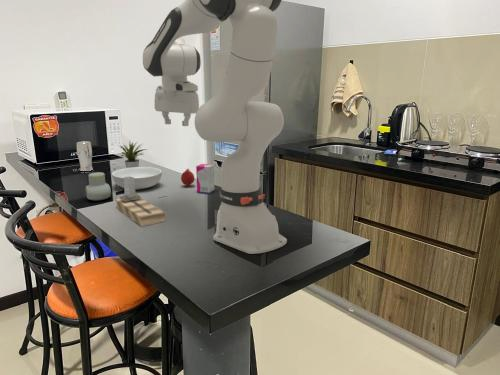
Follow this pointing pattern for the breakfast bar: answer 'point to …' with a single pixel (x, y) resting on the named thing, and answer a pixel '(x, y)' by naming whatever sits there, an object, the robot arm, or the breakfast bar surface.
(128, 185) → the grey upright piece
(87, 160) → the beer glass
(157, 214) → the tan flat bar
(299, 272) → the breakfast bar surface
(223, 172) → the robot arm
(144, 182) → the serving bowl
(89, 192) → the air freshener
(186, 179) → the onion
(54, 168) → the breakfast bar surface
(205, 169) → the supplement box
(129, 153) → the house plant
